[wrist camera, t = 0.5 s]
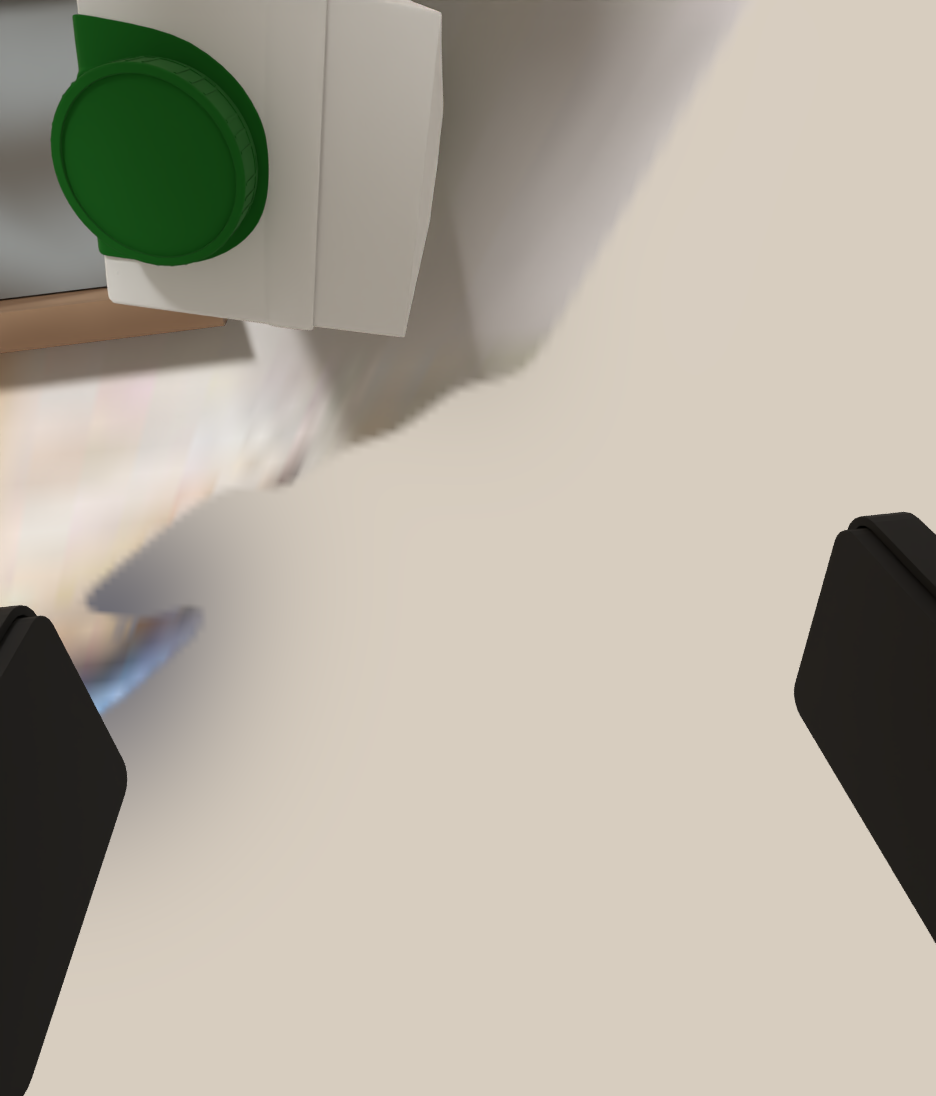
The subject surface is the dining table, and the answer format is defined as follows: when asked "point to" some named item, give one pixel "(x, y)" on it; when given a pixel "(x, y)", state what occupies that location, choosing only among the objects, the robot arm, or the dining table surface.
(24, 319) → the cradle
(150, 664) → the dining table surface
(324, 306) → the soya milk
